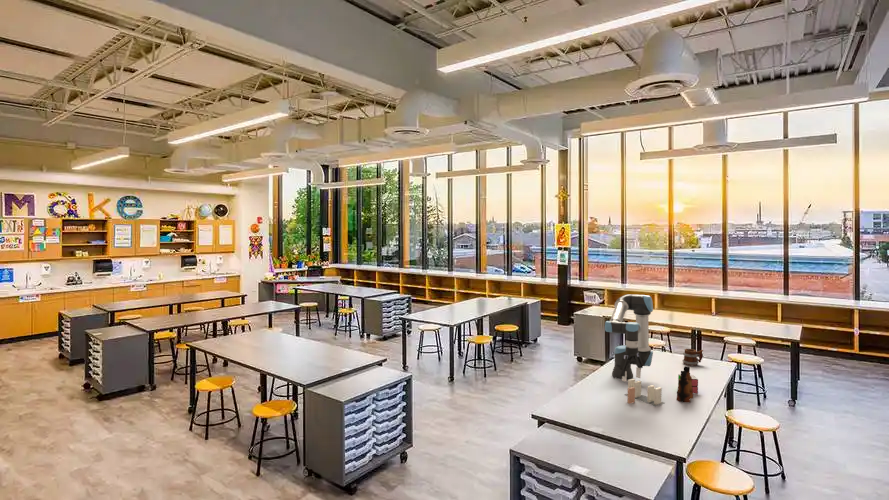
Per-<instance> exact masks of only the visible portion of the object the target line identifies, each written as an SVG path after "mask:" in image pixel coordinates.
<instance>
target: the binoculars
mask: <svg viewBox="0 0 889 500" xmlns="http://www.w3.org/2000/svg"><path fill="white" fill-rule="evenodd" d="M690 367H691V366H687V365H686V366H684V367H683V370H680V374H681V376H680V379H679V380H677V381H678V382H679V383H677V391H676V394H677V395H676V398H675V399H676V401H677V402H679V403H685V404H686V403H688V404H689V403H691V399H693V398H694V393H693V392H692V391H693V389H692V377H691V376H690V375H691V372H690Z"/></svg>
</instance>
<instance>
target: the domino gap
mask: <svg viewBox="0 0 889 500" xmlns="http://www.w3.org/2000/svg"><path fill="white" fill-rule="evenodd" d="M627 394H628V396H627V402H626V403H627V404H629V405H630V404H633V403H635V400H636V399H635V388H634V387H631V388H628V387H627Z"/></svg>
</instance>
